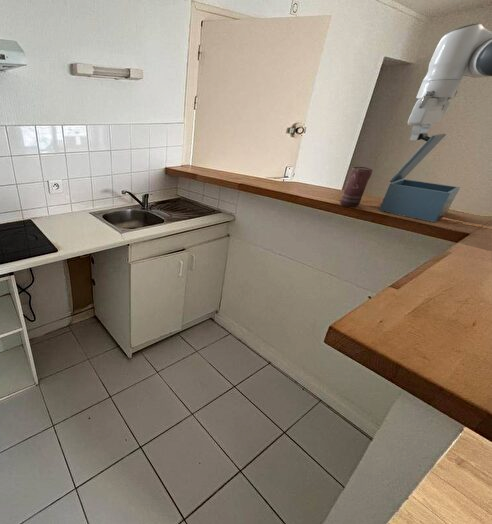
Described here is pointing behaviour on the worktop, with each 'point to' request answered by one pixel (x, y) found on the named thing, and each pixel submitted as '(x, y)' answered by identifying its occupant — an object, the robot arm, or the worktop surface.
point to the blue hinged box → (418, 199)
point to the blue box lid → (419, 154)
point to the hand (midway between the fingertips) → (416, 139)
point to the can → (355, 186)
